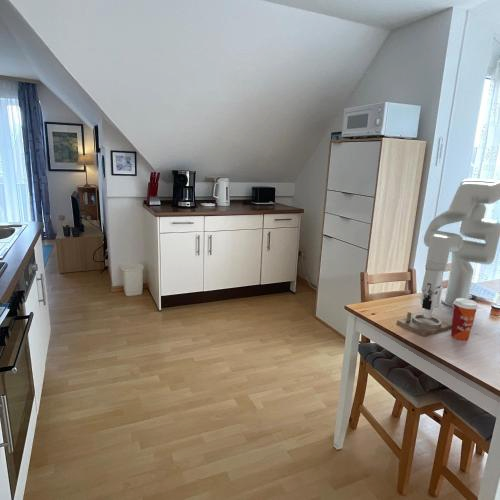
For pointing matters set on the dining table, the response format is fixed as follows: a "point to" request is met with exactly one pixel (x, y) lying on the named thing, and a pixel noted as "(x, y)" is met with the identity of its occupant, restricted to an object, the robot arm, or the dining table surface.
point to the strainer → (434, 300)
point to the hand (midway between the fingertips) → (429, 306)
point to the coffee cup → (463, 318)
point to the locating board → (425, 324)
